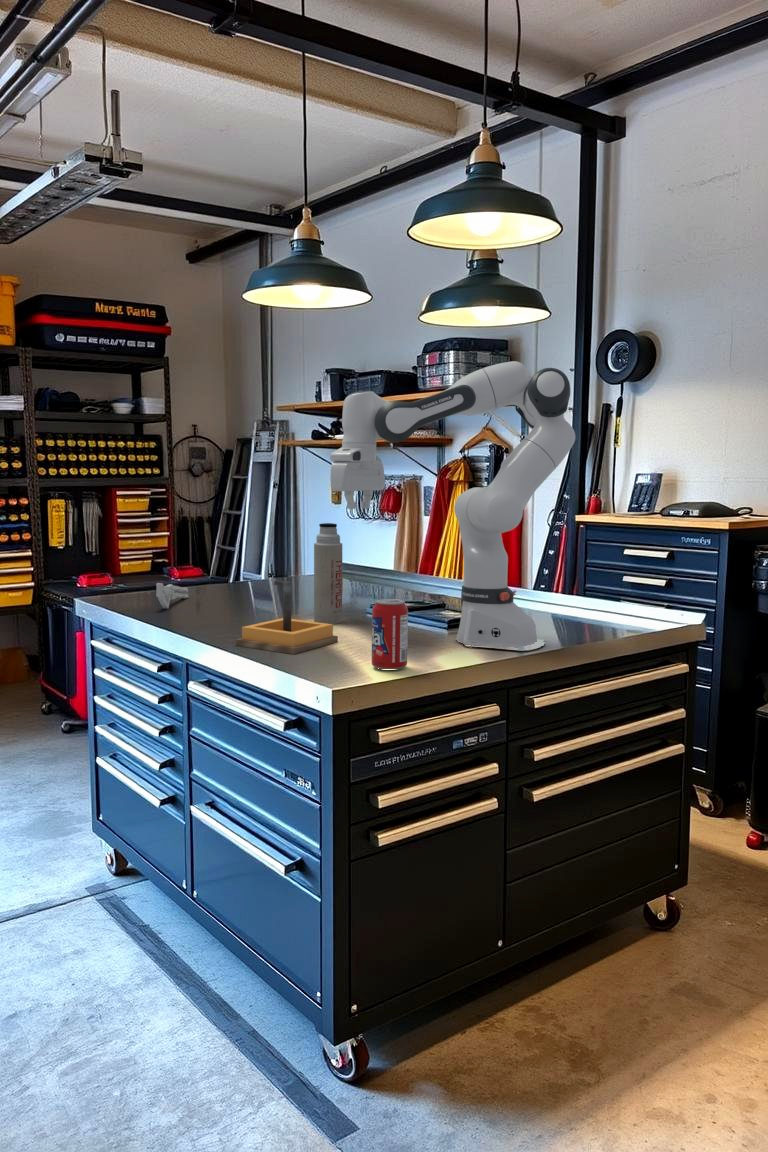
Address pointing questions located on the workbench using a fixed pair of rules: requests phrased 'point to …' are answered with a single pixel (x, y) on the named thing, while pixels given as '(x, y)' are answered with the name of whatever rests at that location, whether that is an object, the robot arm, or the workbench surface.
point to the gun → (169, 593)
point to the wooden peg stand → (286, 627)
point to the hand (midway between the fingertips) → (358, 508)
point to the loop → (297, 636)
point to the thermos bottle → (328, 575)
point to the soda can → (389, 634)
